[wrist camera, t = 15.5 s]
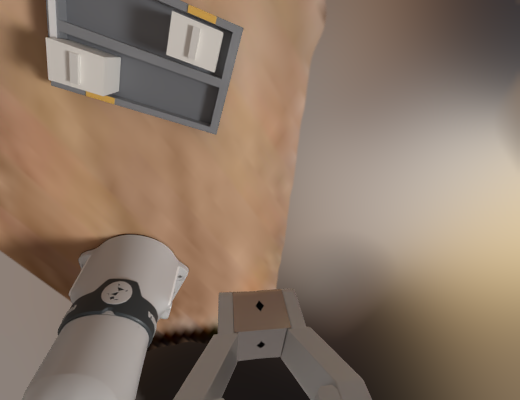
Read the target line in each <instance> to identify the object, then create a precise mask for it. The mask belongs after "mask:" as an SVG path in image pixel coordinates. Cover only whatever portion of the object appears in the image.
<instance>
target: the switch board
mask: <svg viewBox="0 0 520 400" xmlns="http://www.w3.org/2000/svg"><path fill="white" fill-rule="evenodd" d="M46 8H47V24H48V37H49V38H58V39H66V40H73V41H75V42H78V43H81V44H84V45H87V46H90V47H93V48H95V49H98V50H101V51H104V52H107V53H110V54H113V55H116V56H118V57H121V65H120V83H119V91H118V92H115V93H112V94H109V95H106V96H101V95H97V94H94V93H91V92H87V91H84V90H81V89H77V88H74V87H71V86H68V85H64V84H61V83H58V82H54V81H51V85H52V86H55V87H58V88H62V89H65V90H68V91H72V92H75V93H78V94H82V95H85V96H88V97H92V98H95V99H98V100H102V101H105V102H108V103H112V104H115V105H119V106H122V107H125V108H129V109H132V110H135V111H139V112H142V113H145V114H149V115H152V116H155V117H159V118H162V119H166V120H169V121H172V122H176V123H179V124H182V125H186V126H189V127H192V128H196V129H199V130H202V131H206V132H209V133H212V134H217V130H218V126H219V122H220V118H221V114H222V110H223V106H224V102H225V98H226V94H227V90H228V86H229V83H230V79H231V75H232V71H233V67H234V63H235V59H236V55H237V51H238V47H239V43H240V39H241V35H242V32H243V28H242V27H240V26H237V25H235V24H233V23H231V22H228V21H226V20H224V19H221V18H219V17H217V16H214V15H212V14H210V13H208V12H205V11H203V10H201V9H198V8H196V7H194V6H192V5H189V4H187V3H185V2H182V1H180V0H46ZM172 11H174V12H176V13H179V14H181V15H183V16H186V17H188V18H191V19H193V20H195V21H198V22H200V23H202V24H205V25H207V26H210V27H212V28H214V29H217V30H219V31H221V32H223V40H222V44H221V49H220V53H219V57H218V62H217V66H216V71H215V72H211V71H209V70H206V69H203V68H201V67H198V66H195V65H193V64H190V63H187V62H184V61H182V60H179V59H176V58H174V57H171V56H168V55H166V52H167V45H168V37H169V30H170V22H171V15H172Z"/></svg>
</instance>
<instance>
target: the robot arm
mask: <svg viewBox="0 0 520 400" xmlns="http://www.w3.org/2000/svg"><path fill="white" fill-rule="evenodd" d="M79 264H80V267H81V272H80V273H79V275H78V277H77V279H76V280H75V282H74V284H73V286H72V288H71V289H70V291H69V296H70V299H71V302H72V304H73V305H72V306H71V308H70V309H69V311H68V312H67V313H66V315H65V316H64V318H63V320H62V323H61V325H60V327H59V329H58V337H57V339H56V340H55V342H54V344H53V345H52V347H51V349H50V350H49V352H48V354H47V356H46V357H45V359H44V360H43V362H42V364H41V366H40V367H39V369H38V371H37V372H36V374H35V376H34V377H33V379H32V381H31V382H30V384H29V386H28V387H27V389H26V391H25V393H24V396H23V400H135V397H136V392H137V388H138V383H139V379H140V374H141V370H142V366H143V362H144V358H145V354H146V350H147V347H148V346H149V345H150V344H151V341H152V339H153V336H154V334H155V331H156V324H157V321H158V320H159V319H160V318H162V319H167V318H168V316H169V314H170V310H171V306H172V300H173V299H174V297H175V295H176V294H177V292H178V290H179V289H180V287H181V285H182V283H183V282H184V280H185V278H186V277H187V275H188V272H189V269H188V267H186V266H185V265H184V264H182V263H181V262H179V261H178V260H177V258H176V257H175V255H174V254H173V252H172V251H171V250H170V249H169V248H168V247H167V246H165V245H164V244H163V243H161V242H159V241H157V240H155V239H152V238H149V237H145V236H140V235H122V236H117V237H114V238H111V239H109V240H107V241H105V242H104V243H103V244H101V245H100V246H99V247H98V248H96V249H93V250H90V251H86V252H84V253H82V254H81V255H80V257H79ZM180 275H181V276H180ZM269 357H270V358H271V357H281V359H282V360H283V362H284V363H285V364H286V366H287V367H288V369H289V370H290V371H291V373H292V374H293V376H294V377H295V378H296V380H297V381H298V382H299V384H300V385H301V387H302V388H303V390H304V391H305V393H306V394H307V395H308V397H309V398H310V400H372V399H371V397H370V394H369V392H368V390H367V387H366V385H365V383H364V381H363V379H362V378H361V377H360V376H359V375H358V374H357V373H356V372H355V371H354V370H353V369H352V368H351V367H350V366H349V365H348V364H347V363H346V362H345V361H343V359H342V358H341V357H340V356H339V355H338V354H337V353H336V352H334V350H332V348H331V347H329V345H328V344H327V343H325V341H324V340H323V339H321V337H319V335H317V334H316V333H315V332H314V331H313V330H312V329H311V328H310V327H306V325H305V322H304V319H303V316H302V312H301V309H300V306H299V303H298V300H297V296H296V293H295V290H294V289H274V290H260V291H250V292H223V293H219V307H218V334H217V335H214V336H213V337H212V339H211V340H210V342H209V344H208V345H207V347H206V348H205V350H204V352H203V353H202V355H201V356H200V358H199V359H198V361H197V363H196V364H195V366H194V367H193V369H192V371H191V372H190V374H189V375H188V377H187V379H186V380H185V382H184V383H183V385H182V387H181V388H180V390H179V392H178V393H177V395H176V396H175V398H174V399H173V400H224V399H223V398H221V397H222V395H223V393H224V390H225V388H226V386H227V384H228V381H229V379H230V377H231V375H232V373H233V370H234V368H235V366H236V364H237V361H242V360H250V359H257V358H269Z"/></svg>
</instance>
